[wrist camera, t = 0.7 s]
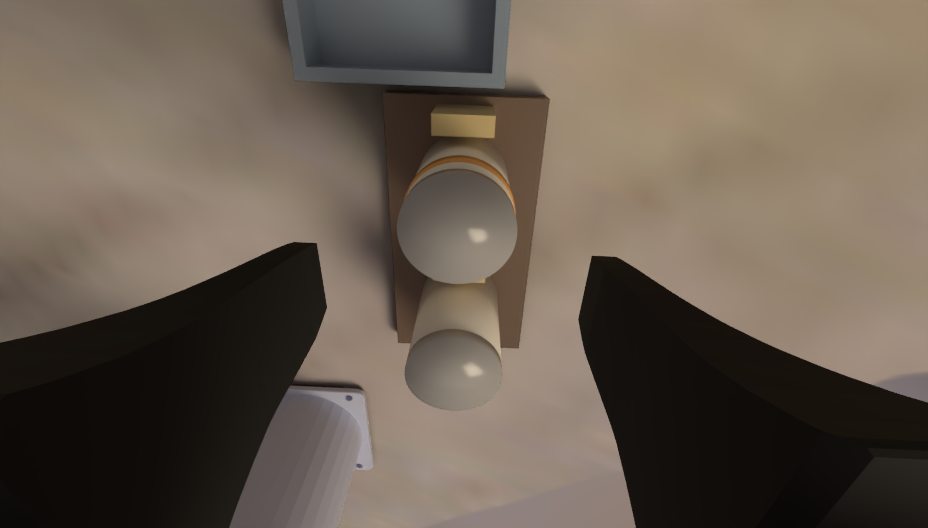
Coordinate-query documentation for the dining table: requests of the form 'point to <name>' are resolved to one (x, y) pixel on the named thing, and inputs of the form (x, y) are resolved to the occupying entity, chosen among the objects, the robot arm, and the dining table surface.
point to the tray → (399, 41)
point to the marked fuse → (459, 212)
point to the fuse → (455, 346)
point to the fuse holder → (521, 145)
